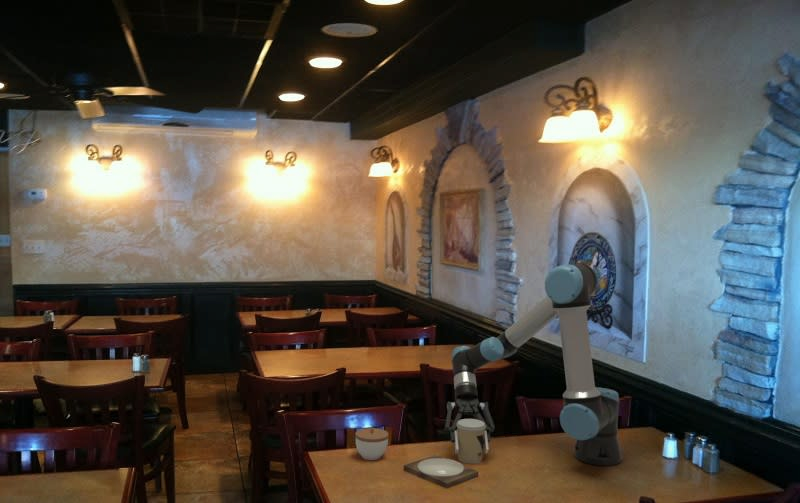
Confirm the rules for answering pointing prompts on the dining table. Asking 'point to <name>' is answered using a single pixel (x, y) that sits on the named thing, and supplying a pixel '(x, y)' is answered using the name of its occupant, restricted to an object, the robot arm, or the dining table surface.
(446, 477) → the serving board
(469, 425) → the coffee cup
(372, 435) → the lidded jar
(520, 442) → the dining table surface
